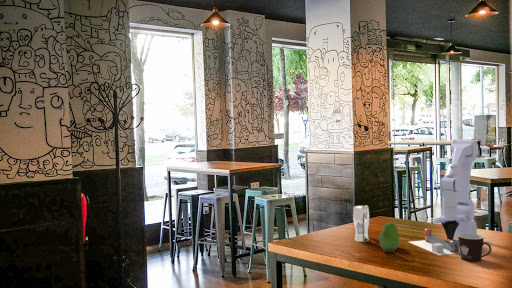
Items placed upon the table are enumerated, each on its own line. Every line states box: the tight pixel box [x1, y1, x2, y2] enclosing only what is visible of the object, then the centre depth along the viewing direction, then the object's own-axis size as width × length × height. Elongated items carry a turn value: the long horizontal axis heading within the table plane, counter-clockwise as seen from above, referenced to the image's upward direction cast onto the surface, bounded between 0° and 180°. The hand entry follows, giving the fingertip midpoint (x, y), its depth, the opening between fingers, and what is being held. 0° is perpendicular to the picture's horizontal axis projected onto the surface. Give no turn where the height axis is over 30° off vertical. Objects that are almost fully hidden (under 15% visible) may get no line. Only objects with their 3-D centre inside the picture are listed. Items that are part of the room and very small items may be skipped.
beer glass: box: [352, 205, 370, 243], centre depth 217 cm, size 7×7×15 cm
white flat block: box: [408, 239, 460, 256], centre depth 197 cm, size 16×22×4 cm
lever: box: [424, 227, 460, 252], centre depth 197 cm, size 21×4×5 cm, turn 14°
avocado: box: [378, 222, 400, 253], centre depth 197 cm, size 8×8×12 cm
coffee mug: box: [457, 233, 492, 263], centre depth 177 cm, size 12×9×10 cm
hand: (450, 239), depth 201 cm, fingers closed
